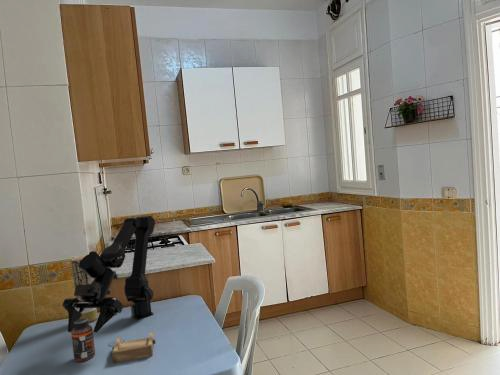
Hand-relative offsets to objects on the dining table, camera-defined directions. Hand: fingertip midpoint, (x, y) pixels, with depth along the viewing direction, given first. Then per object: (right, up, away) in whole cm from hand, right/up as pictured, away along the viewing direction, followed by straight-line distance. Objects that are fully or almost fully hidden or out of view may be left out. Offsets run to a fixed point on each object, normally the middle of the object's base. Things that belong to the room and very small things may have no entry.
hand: (81, 332), depth 114 cm
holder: (+16, -6, +1) cm, 17 cm away
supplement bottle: (+1, -8, 0) cm, 8 cm away
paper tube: (-12, -8, +33) cm, 36 cm away
